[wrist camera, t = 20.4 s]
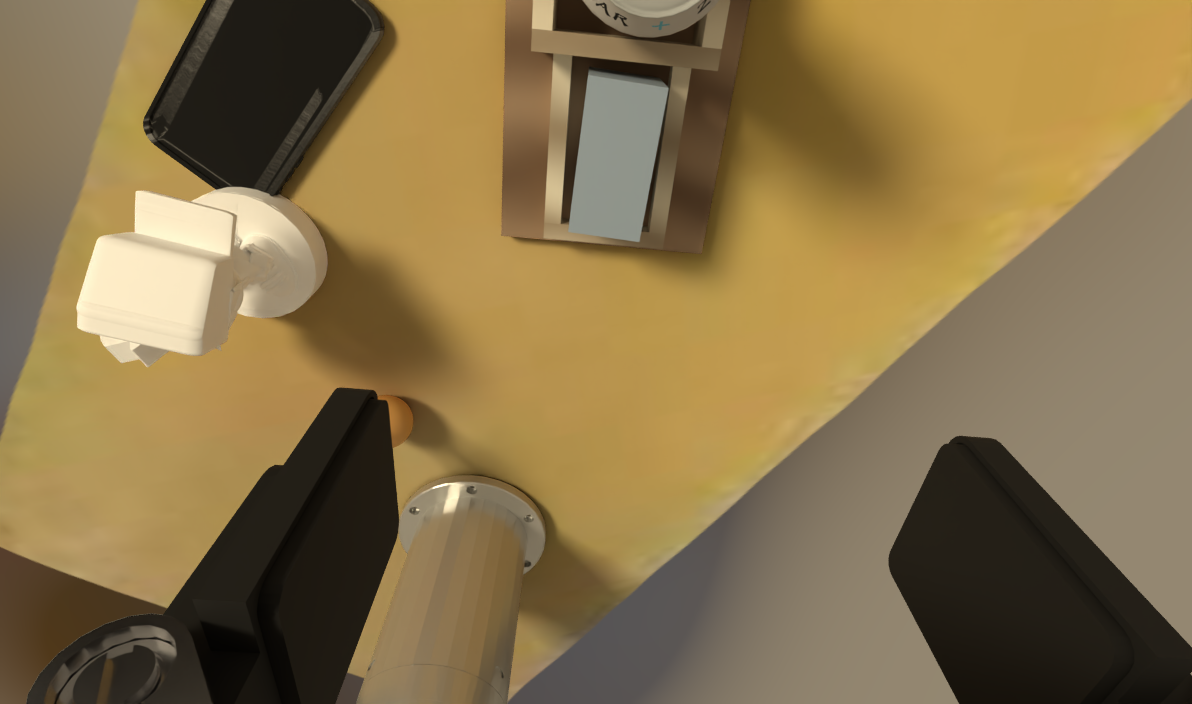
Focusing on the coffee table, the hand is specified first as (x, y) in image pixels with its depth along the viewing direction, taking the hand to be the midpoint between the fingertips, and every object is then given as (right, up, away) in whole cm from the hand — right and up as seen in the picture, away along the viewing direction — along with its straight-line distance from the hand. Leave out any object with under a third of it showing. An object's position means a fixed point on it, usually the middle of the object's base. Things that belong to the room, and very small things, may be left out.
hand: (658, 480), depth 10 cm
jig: (0, +18, +24) cm, 31 cm away
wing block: (0, +14, +25) cm, 29 cm away
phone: (-20, +18, +25) cm, 37 cm away
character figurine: (-23, +10, +30) cm, 39 cm away
